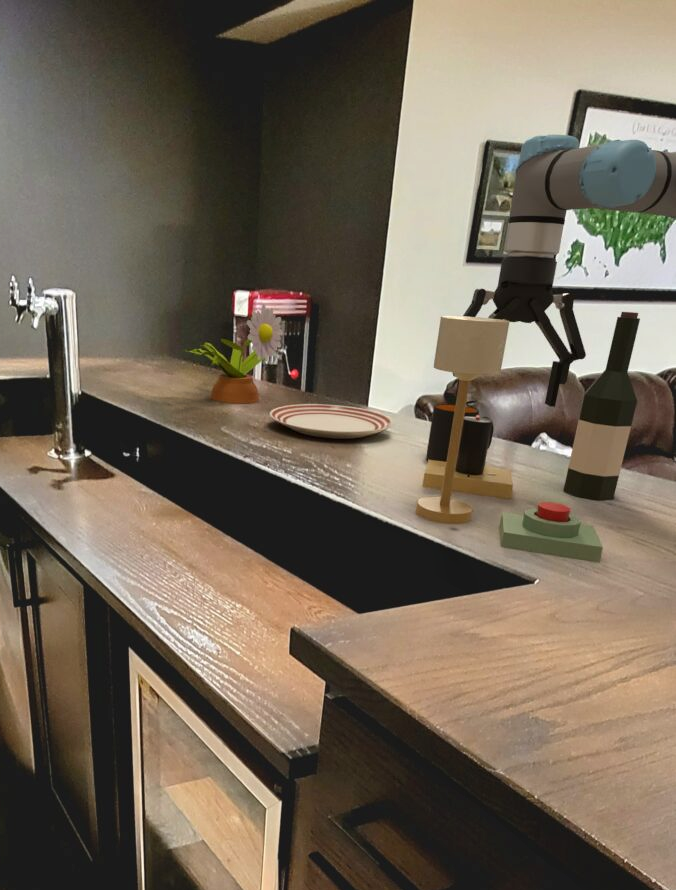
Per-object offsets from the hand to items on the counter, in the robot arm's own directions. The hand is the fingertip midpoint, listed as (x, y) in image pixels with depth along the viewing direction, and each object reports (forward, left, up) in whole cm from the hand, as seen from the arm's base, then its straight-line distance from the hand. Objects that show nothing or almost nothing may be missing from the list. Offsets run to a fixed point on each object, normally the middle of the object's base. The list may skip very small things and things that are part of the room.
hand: (504, 402), depth 112 cm
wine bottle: (-17, -13, -16) cm, 27 cm away
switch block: (-8, +18, -16) cm, 25 cm away
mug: (+5, -24, -16) cm, 30 cm away
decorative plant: (+64, -65, -16) cm, 93 cm away
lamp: (+6, +12, -16) cm, 21 cm away
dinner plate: (+33, -39, -16) cm, 54 cm away
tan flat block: (+3, -7, -16) cm, 18 cm away
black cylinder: (+3, -7, -13) cm, 16 cm away
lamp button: (-8, +18, -12) cm, 23 cm away
